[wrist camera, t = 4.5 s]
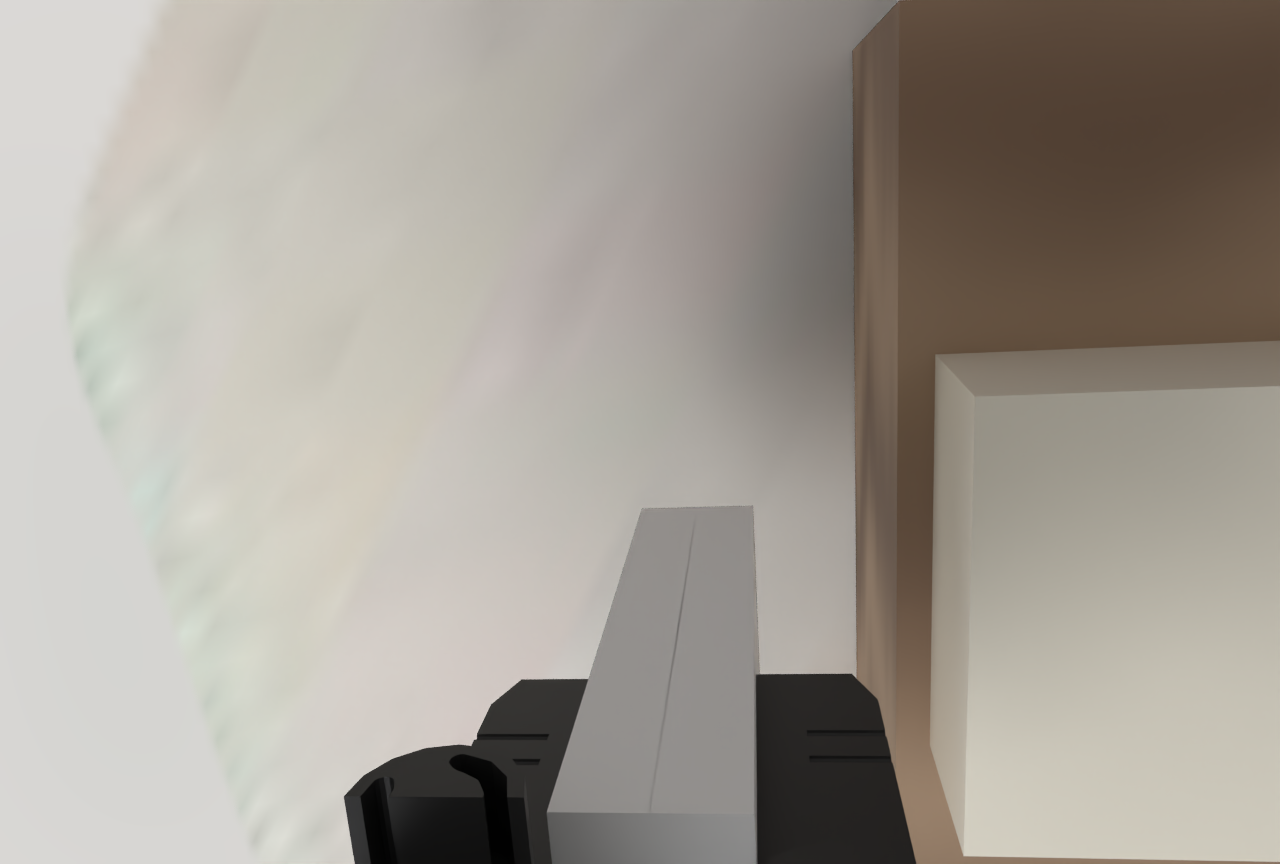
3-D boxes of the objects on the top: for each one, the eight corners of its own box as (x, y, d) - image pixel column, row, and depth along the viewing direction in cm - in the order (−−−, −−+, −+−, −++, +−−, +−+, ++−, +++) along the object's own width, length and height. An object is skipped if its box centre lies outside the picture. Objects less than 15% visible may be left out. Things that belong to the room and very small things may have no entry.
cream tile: (1358, 747, 14) (1478, 865, 12) (929, 745, 15) (963, 856, 13) (1415, 334, 13) (1567, 376, 10) (935, 354, 14) (975, 396, 11)
